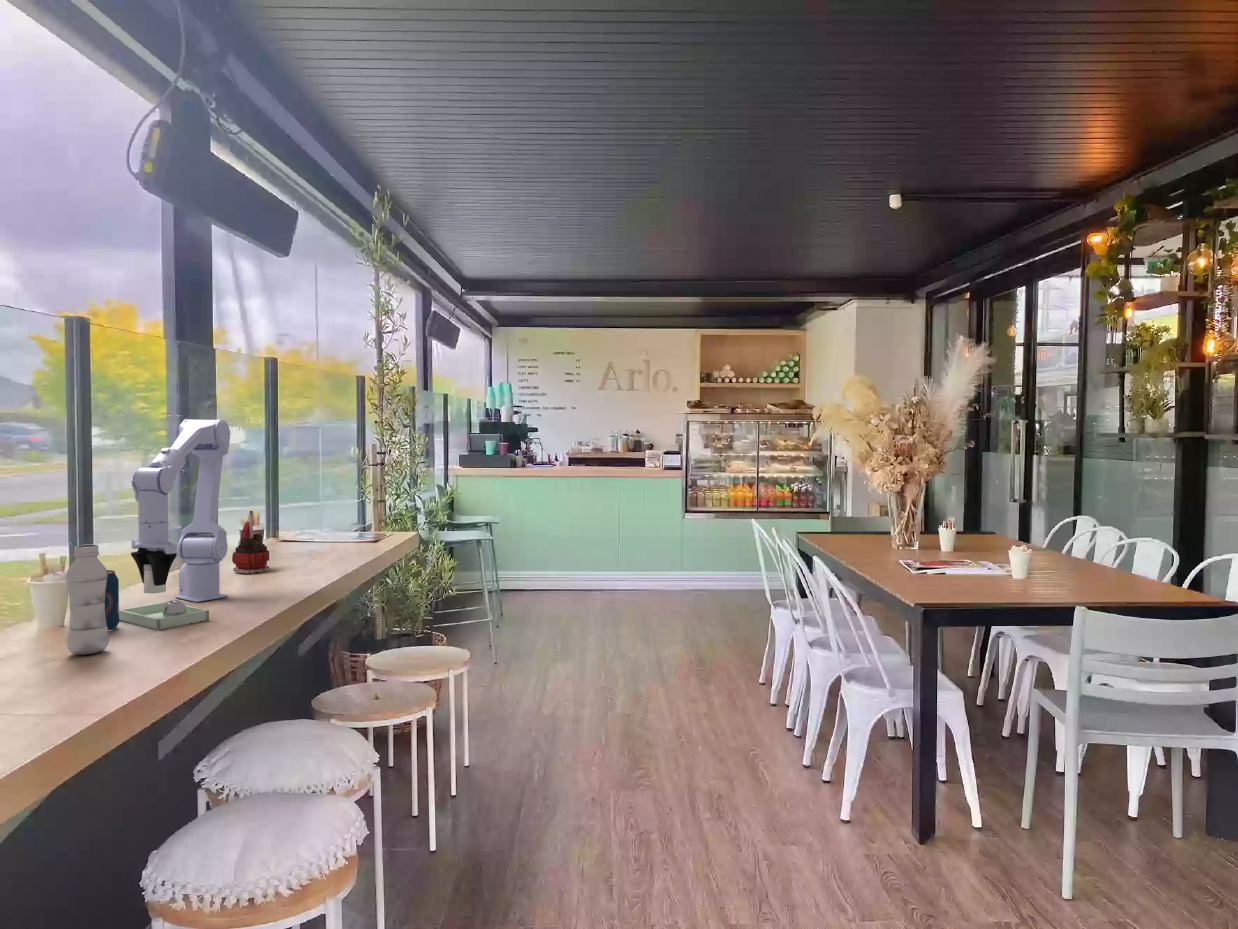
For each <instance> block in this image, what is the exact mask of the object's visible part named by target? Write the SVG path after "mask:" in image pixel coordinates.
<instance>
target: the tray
mask: <svg viewBox="0 0 1238 929" xmlns="http://www.w3.org/2000/svg"><path fill="white" fill-rule="evenodd" d="M167 602H169V601H168V600H167V601H164V602H157V603H151V604H145V605H139V606H132V607H128V608H121V609H119V622H123V621H124V623H128V624H131V623H133V624H132V625H135V624H136V625H135V626H139V625H141V626H140V627H142V628H143V627H144V628H147V629H151V628H152V629H151V630H156V631H161V630H166V629H165V628H167V629H171V628H172V629H173V628H176V627H177V628H178V627H181V625H182V626H187V625H191V624H190V623H192V624H196V623H201V622H200V621H202V622H207V621H210V610H209V609H205V608H201V607H196V606H190V605H187V604H185V606H186V609H187V611H186V614H182V615H177V616H172V617H166V618H164V617H163V614H162V609H163V607H164V605H165V604H166V603H167Z"/></svg>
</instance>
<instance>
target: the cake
mask: <svg viewBox="0 0 1238 929" xmlns="http://www.w3.org/2000/svg"><path fill="white" fill-rule="evenodd" d="M248 513H249V519H246V521H245V523H244V525H243V526H242V530H241V533H240V538H239V540H238V542H237V543H238V544H237V546H236V547H235V551H233V552H232V556H231V559H232V560H231V561H232V563H233V564H234V565H235V567H233V572H235V573H240V574H243V573H245V574H244V575H247V574H248V573H249V575H251V574H252V573H253V574H257V573H256V572H260V573H262V571H263V572H267V571H268V570H270V566H269V565H268V561H270V550H268V547H267V545H266V544H265V543H263V541H262V540H263V536H262V534H261V533H254V530H253V529H254V526H255V520H254V519H253V518H254V510H249V512H248ZM250 573H251V574H250Z"/></svg>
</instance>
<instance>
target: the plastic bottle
mask: <svg viewBox="0 0 1238 929" xmlns="http://www.w3.org/2000/svg"><path fill="white" fill-rule="evenodd" d="M99 549H100V548H99V545H98V544H81V545H80V544H79V545H75V546H74V553H73V557H74V558H75V560H74V561H73V562H72V563H71V564H70V566H69V568H68V569H67V571H66V573H65V577H64V578H65V583H66V588H67V593H68V598H69V599H68V603H69V604H68V605H70V606H69V623H68V624H69V625H68V631H67V636H66V646H67V650H68V652H70V653H71V654H73V655H82V656H83V655H85V656H87V655H86V654H88V655H93V654H96V653H100V652H102V651H105V650H106V649H107V648H108V646H109V641H110V631H109V632H108V628H107V626H106V617H105V603H104V601H105V590H106V583H107V570H108V569H107V567H106V566H105V564H103V562H101V561H100V559H99V558H98V556H100V552H99Z"/></svg>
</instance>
